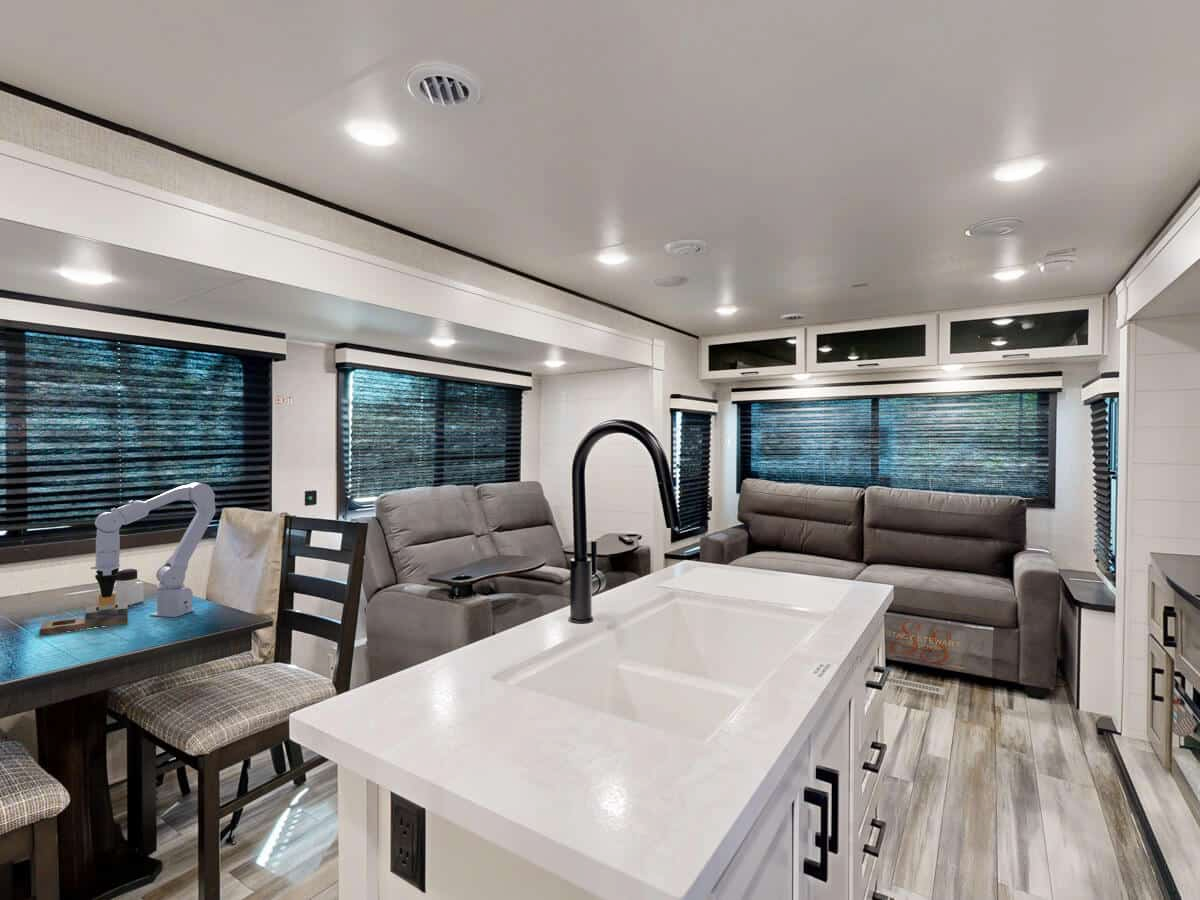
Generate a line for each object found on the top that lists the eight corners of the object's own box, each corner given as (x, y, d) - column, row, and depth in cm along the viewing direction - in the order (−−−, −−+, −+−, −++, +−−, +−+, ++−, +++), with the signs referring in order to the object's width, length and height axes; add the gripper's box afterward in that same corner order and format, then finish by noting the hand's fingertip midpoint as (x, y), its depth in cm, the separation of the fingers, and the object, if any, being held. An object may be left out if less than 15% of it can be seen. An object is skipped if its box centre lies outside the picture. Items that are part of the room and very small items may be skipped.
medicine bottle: (144, 601, 212) (144, 567, 212) (126, 607, 205) (126, 572, 205) (125, 600, 213) (126, 567, 212) (107, 606, 205) (107, 571, 205)
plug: (115, 611, 189) (115, 590, 189) (115, 614, 186) (115, 593, 186) (98, 613, 187) (99, 592, 187) (98, 616, 183) (98, 595, 183)
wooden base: (127, 617, 193) (127, 601, 193) (127, 624, 186) (127, 608, 186) (42, 628, 180) (42, 611, 180) (39, 636, 173) (39, 618, 173)
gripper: (91, 548, 189) (90, 591, 189) (90, 555, 178) (89, 601, 178) (120, 546, 194) (119, 588, 194) (120, 553, 182) (119, 597, 182)
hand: (107, 594), depth 186 cm, fingers open, 7 cm apart
